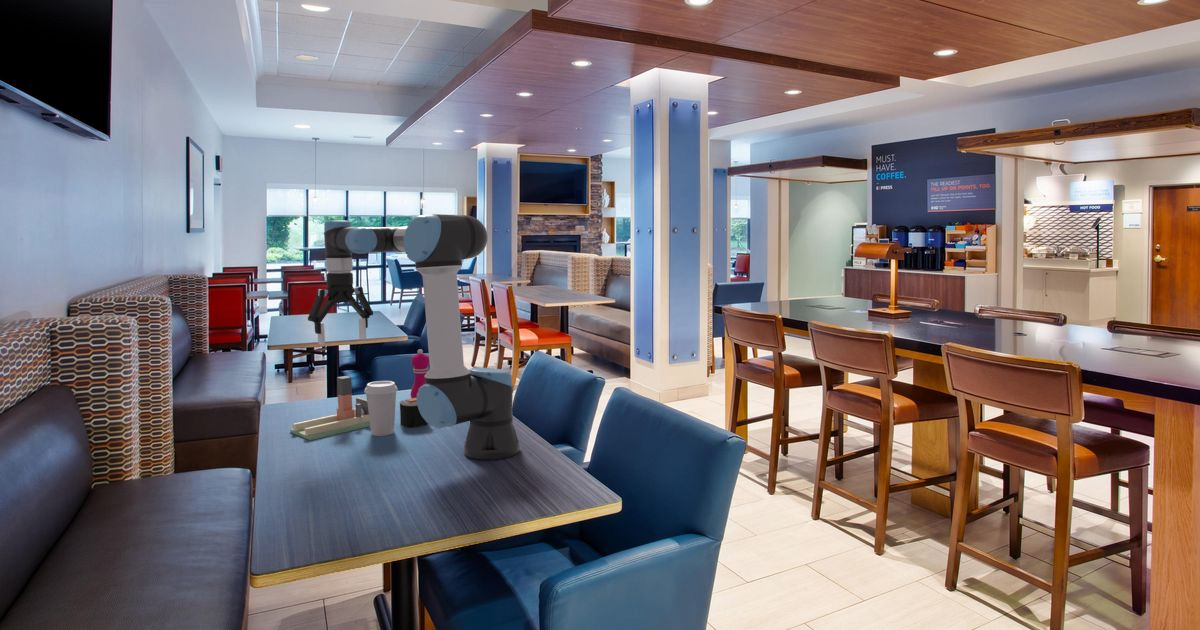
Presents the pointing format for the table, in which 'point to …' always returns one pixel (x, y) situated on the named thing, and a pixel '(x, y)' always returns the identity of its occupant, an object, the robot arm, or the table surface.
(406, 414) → the sushi
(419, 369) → the pepper mill
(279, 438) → the table surface
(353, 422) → the pitch
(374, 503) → the table surface
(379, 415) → the coffee cup
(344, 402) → the black and red block
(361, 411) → the ball
